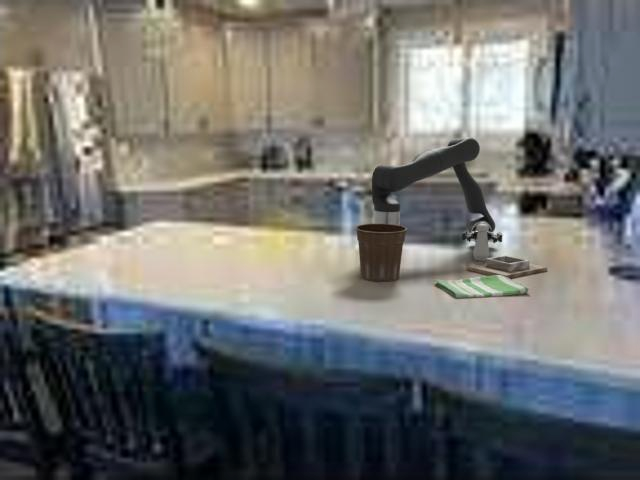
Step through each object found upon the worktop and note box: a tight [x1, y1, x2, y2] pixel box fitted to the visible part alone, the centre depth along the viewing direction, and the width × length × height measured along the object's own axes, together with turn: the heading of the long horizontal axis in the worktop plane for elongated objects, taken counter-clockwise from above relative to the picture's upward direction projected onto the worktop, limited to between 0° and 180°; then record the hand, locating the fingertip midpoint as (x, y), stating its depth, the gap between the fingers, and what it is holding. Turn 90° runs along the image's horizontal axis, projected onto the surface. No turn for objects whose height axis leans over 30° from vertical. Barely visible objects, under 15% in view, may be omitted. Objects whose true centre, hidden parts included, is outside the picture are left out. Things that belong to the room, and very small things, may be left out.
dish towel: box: [433, 275, 530, 299], centre depth 210 cm, size 18×23×3 cm
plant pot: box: [354, 223, 408, 283], centre depth 222 cm, size 16×16×16 cm
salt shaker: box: [472, 224, 491, 263], centre depth 251 cm, size 6×6×13 cm
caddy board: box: [466, 255, 548, 279], centre depth 236 cm, size 22×16×4 cm
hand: (482, 239), depth 249 cm, fingers open, 8 cm apart
